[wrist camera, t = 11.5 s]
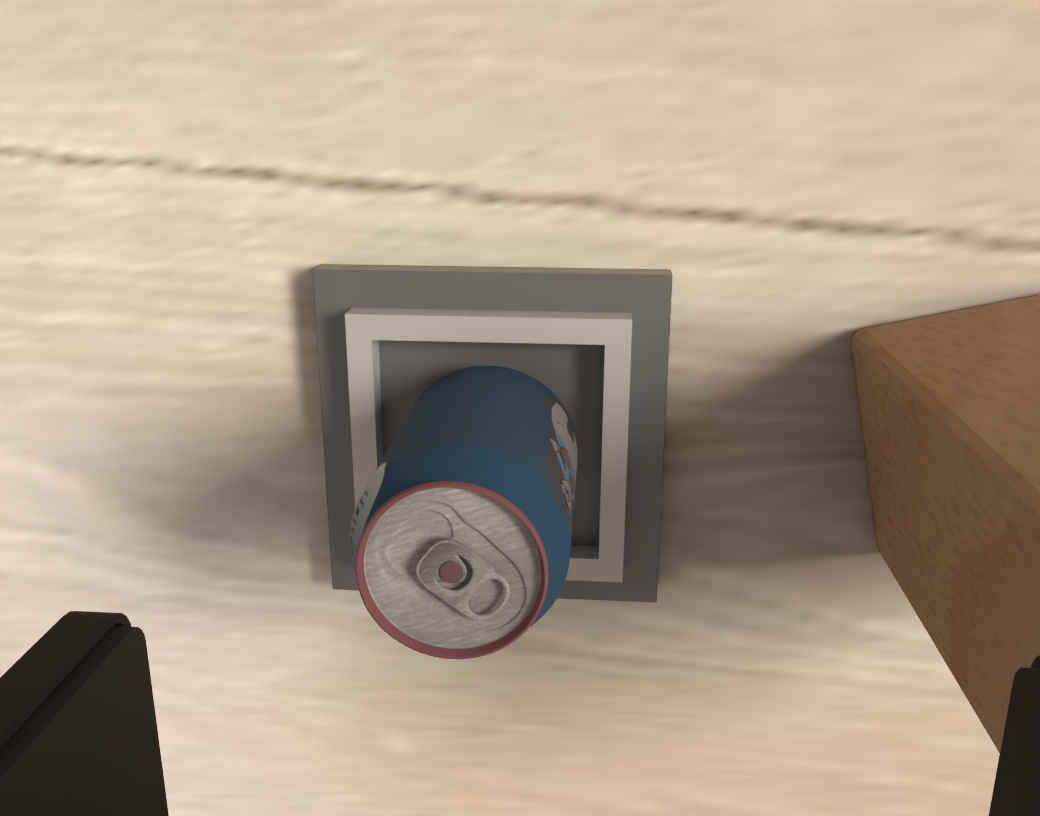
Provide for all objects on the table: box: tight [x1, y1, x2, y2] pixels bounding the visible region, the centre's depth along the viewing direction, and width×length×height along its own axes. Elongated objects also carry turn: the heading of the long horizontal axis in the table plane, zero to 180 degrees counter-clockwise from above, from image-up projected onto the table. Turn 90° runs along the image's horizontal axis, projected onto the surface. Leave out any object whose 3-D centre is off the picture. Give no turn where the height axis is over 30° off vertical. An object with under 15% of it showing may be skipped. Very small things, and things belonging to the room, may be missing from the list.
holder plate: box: [313, 264, 672, 602], centre depth 41 cm, size 14×14×2 cm
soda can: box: [350, 366, 578, 659], centre depth 35 cm, size 7×7×12 cm
